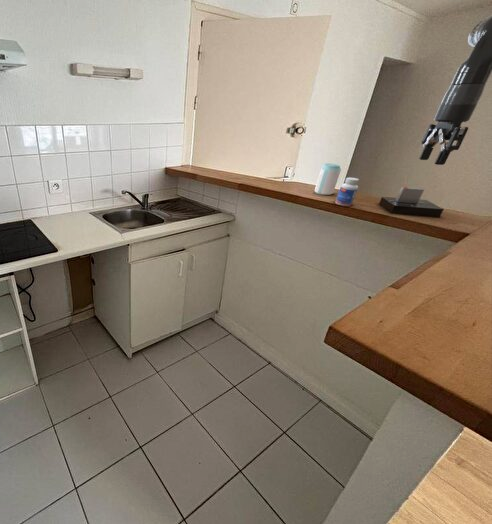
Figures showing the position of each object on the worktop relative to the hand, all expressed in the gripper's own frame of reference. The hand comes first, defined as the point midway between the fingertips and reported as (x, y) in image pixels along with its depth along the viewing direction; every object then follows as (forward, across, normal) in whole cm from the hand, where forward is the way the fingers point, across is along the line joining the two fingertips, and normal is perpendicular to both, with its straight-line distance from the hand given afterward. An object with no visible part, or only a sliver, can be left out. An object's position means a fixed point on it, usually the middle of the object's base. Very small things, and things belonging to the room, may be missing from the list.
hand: (430, 162), depth 88 cm
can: (+18, +24, +20) cm, 36 cm away
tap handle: (+15, +7, -2) cm, 17 cm away
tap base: (+18, +7, -4) cm, 20 cm away
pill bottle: (+18, +10, +16) cm, 26 cm away
